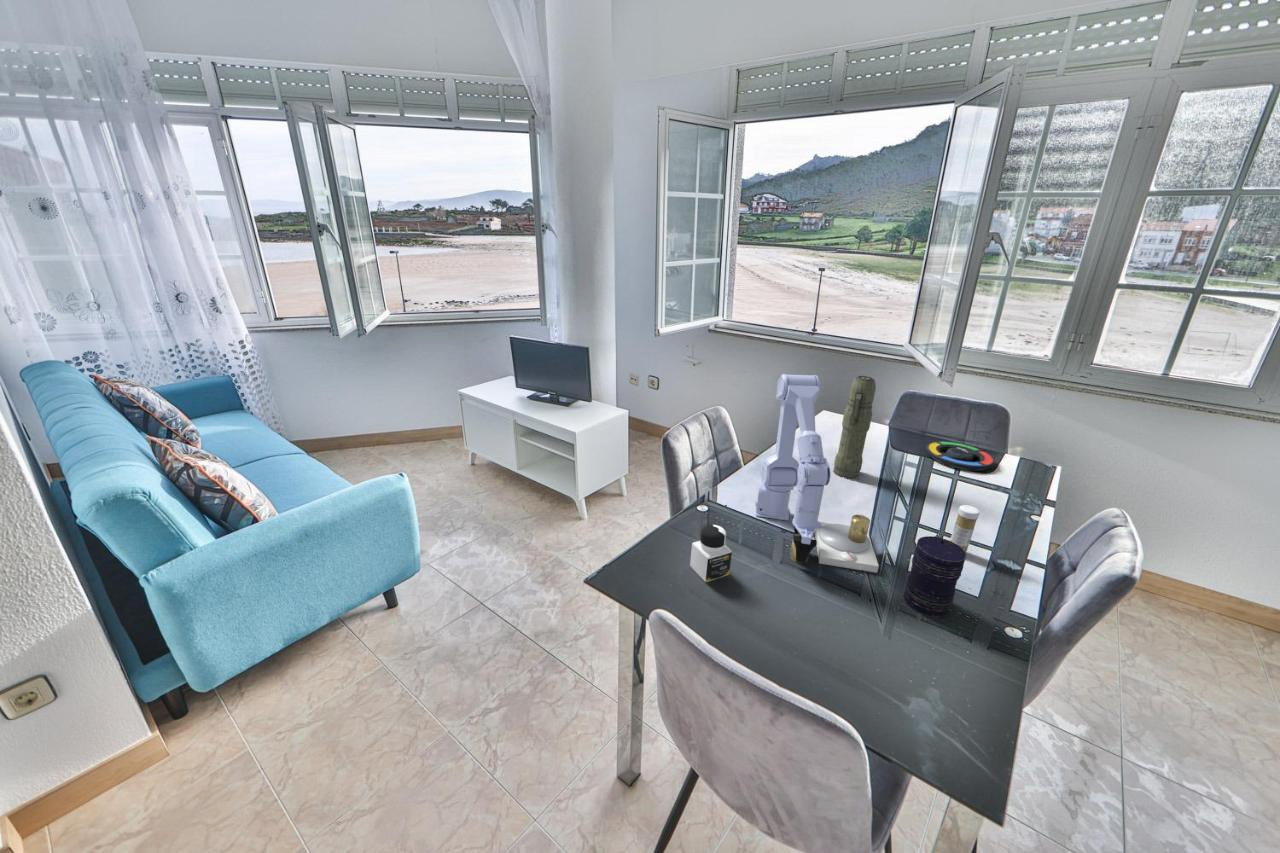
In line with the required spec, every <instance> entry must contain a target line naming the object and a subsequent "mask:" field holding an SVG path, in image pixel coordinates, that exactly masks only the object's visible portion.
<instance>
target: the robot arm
mask: <svg viewBox="0 0 1280 853" xmlns="http://www.w3.org/2000/svg"><path fill="white" fill-rule="evenodd" d="M820 391H821V380H820V378H819V376H818V375H817V374H813V375H811V374H810V375H809V374H808V375H807V374H805V375H804V374H786V373H783V374H781V376H780V377H779V378H778V380H777V386H776V394H775V395H776V397H775V398H776V401H779V402H780V413H779V419H778V420H779V421H778V427H777V435H776V437H777V438H776V444H775V451H774V452H775V453H773V454H771V455H770V456H768V457H767V458H765V459H764V462H763V465H762V466H763V467H762V469H761V473H760V474H761V481H762V482H759V483H758V490H757V498H756V500H755V516H756V517H760V518H768V519H775V520H781V521H789V520H790V517H789V514H790V513H789V504H790V497H791V491H793V490H794V487H797V489H798V492H797V497H796V498H797V499H796V503H795V507H794V514H793V515H794V516H792V517H791V524H792V525H793V531H794V534H793V535H792V541H794V544H795V547H796V561H797V562H804V563H803V564H805V561H806V560H807V557H808V558H809V556H810V553H811V552H812V550H813V549H814V548H815V547H817V540H816V539H812V536H814V534H815V530H816V529H817V528H822V523H821V522H822V521H818V520H819V515H820V509H821V504H822V500H823V499H822V498H823V494H824V490H825V489H824V488H825V486H828V485H829V484H830V481H831V477H832V476H831V467H830V465H829V463H828V461H827V458H826V457H824V448H823V442H822V436H821V435H820V434H818V433H817V432H816V414H815V413H816V412H815V411H816V410H815V403H816V402H817V400H818V398H819V394H820ZM797 424H798V427H799V430H800V435H799V436H798V437H797V439H796V431H797ZM795 439H796V440H797V441H796V440H795ZM795 441H796V442H797V450H798V457H799V462H798V460H797V459H796V458H794V456H793V453H794V447H795V446H794V445H795ZM795 534H800V535H801V536H796V535H795ZM808 555H809V556H808ZM797 562H796V563H797Z"/></svg>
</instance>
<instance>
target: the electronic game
mask: <svg viewBox="0 0 1280 853" xmlns="http://www.w3.org/2000/svg"><path fill="white" fill-rule="evenodd" d="M939 450H947V451H945V452H943V451H939ZM925 452H926V454H927V455H928V456H930V457H931V458H932V459H933V460H934V459H935V460H936V461H935V460H934V461H935V462H937V461H938V462H937V463H939V462H940V463H939V464H941V463H942V465H943V464H944V466H946V467H950V468H952V467H953V469H956V468H957V469H958V470H961V469H962V471H968V470H970V471H969V472H979V470H980V471H984V470H989V469H991V468H993V467H994V465H995V462H996V460H995V458H994V457H993V456H992V455H991V454H989V453H988V452H987V451H984V449H983V450H982V449H980V448H978V447H975V446H972V445H969V444H965V443H960V442H954V441H947V440H946V441H944V440H941V441H939V440H937V441H932V442H930V443H928V444H927V445H926V447H925ZM976 458H977V459H976ZM974 459H976V460H978V459H979V460H980V461H979V460H978V461H973V460H974Z"/></svg>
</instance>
